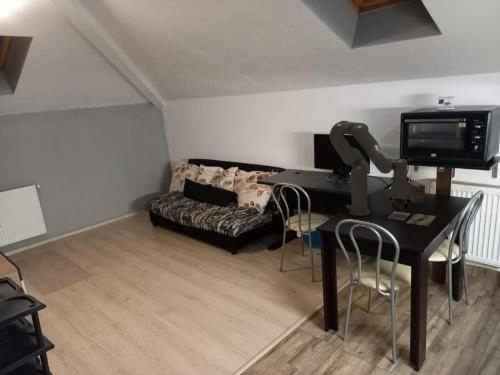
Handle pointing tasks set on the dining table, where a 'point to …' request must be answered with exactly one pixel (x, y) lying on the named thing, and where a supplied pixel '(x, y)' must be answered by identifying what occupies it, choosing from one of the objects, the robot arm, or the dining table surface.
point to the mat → (399, 215)
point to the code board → (421, 219)
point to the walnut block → (398, 205)
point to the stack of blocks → (416, 192)
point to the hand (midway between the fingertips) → (399, 208)
